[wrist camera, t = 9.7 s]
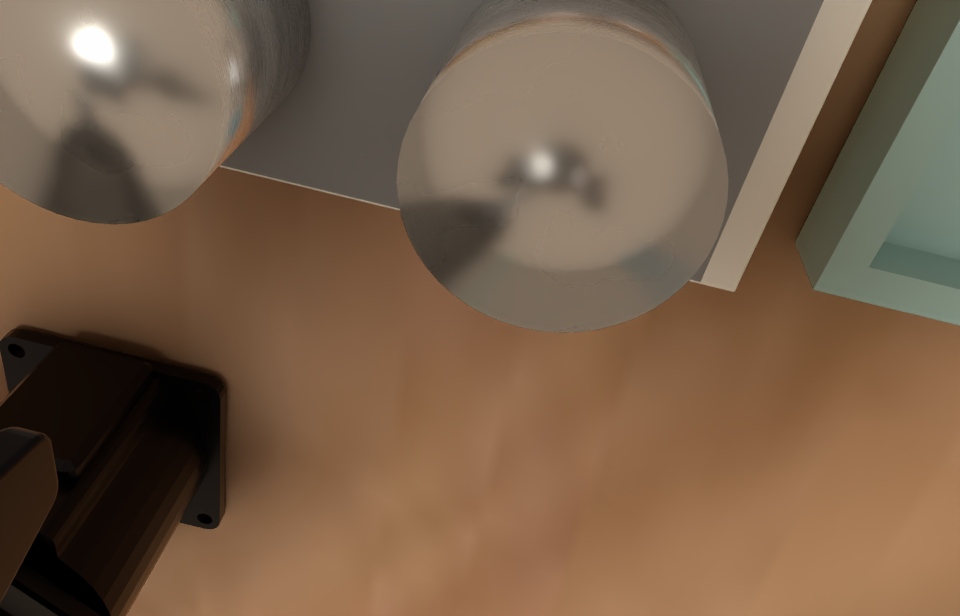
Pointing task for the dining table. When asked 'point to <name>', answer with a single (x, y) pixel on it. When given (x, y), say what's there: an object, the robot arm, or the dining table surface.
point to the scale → (435, 27)
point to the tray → (898, 182)
